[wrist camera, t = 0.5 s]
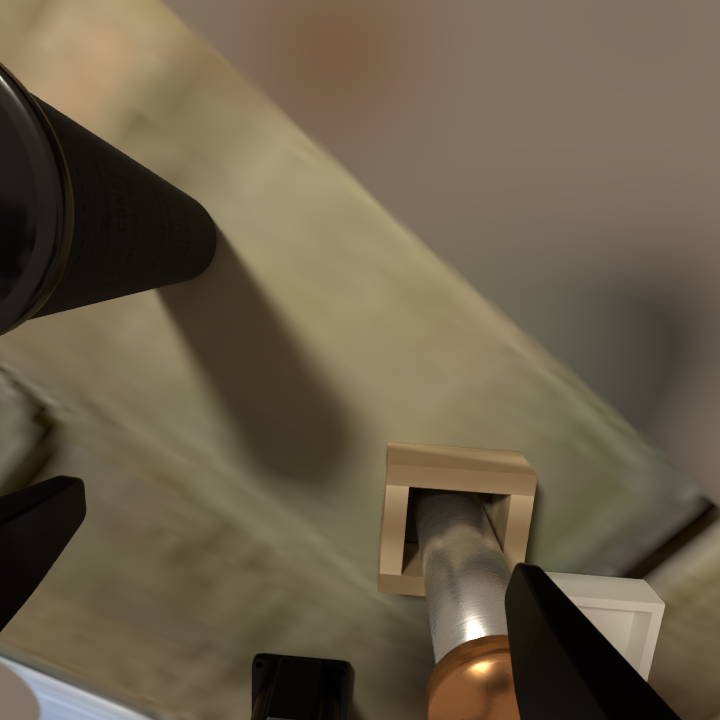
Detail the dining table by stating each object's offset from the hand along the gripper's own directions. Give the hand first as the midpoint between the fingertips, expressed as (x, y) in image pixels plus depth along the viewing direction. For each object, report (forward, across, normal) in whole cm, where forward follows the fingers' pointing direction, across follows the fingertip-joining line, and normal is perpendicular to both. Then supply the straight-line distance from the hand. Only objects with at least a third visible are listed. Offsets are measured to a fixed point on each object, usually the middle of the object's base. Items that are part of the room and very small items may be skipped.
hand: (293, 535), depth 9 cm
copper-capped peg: (+15, -7, +10) cm, 19 cm away
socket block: (+15, -7, +10) cm, 19 cm away
